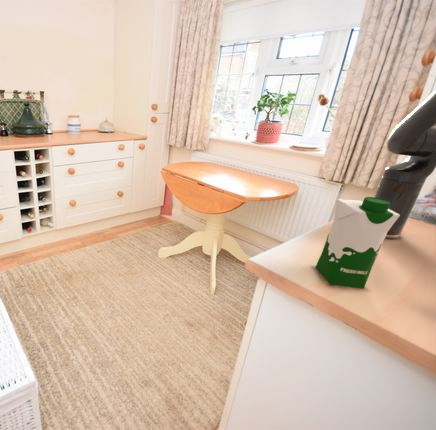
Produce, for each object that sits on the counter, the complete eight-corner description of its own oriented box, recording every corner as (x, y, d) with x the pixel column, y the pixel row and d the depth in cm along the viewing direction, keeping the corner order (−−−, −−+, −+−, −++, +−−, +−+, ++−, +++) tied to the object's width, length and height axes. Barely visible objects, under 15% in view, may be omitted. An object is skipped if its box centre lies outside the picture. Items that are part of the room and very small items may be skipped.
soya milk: (327, 287, 64) (360, 202, 56) (308, 265, 72) (335, 188, 65) (371, 291, 63) (411, 206, 55) (347, 268, 71) (378, 191, 63)
